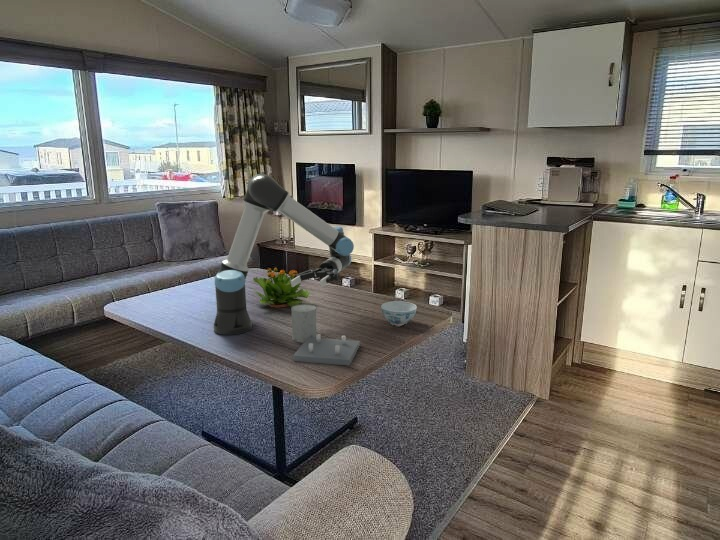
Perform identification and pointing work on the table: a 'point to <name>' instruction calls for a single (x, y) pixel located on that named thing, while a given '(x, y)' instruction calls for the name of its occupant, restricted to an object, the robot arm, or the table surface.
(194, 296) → the table surface
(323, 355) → the stub board
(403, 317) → the chinaware
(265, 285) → the potted flower
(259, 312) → the table surface
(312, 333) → the grey marbled cylinder
